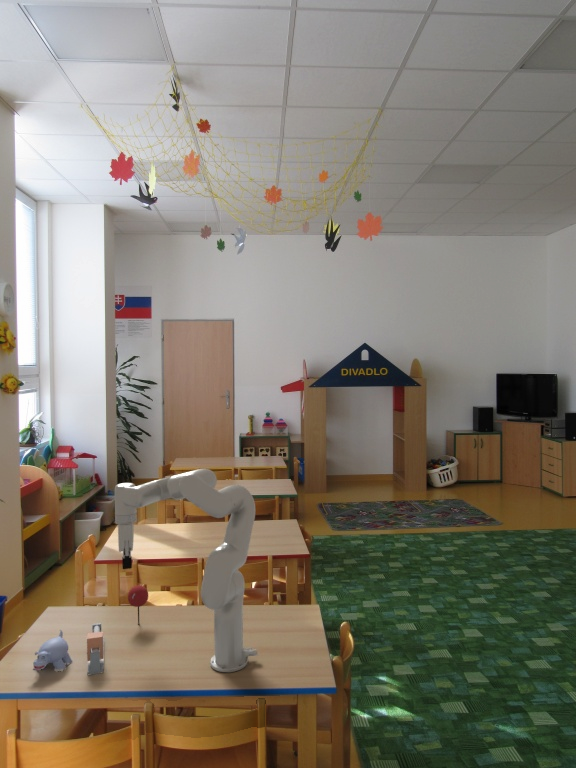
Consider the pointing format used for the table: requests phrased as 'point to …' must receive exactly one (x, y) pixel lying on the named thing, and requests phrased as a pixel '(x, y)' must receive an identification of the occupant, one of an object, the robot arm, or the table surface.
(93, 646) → the collar
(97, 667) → the rail
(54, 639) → the hippopotamus toy
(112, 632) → the table surface
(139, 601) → the lollipop
